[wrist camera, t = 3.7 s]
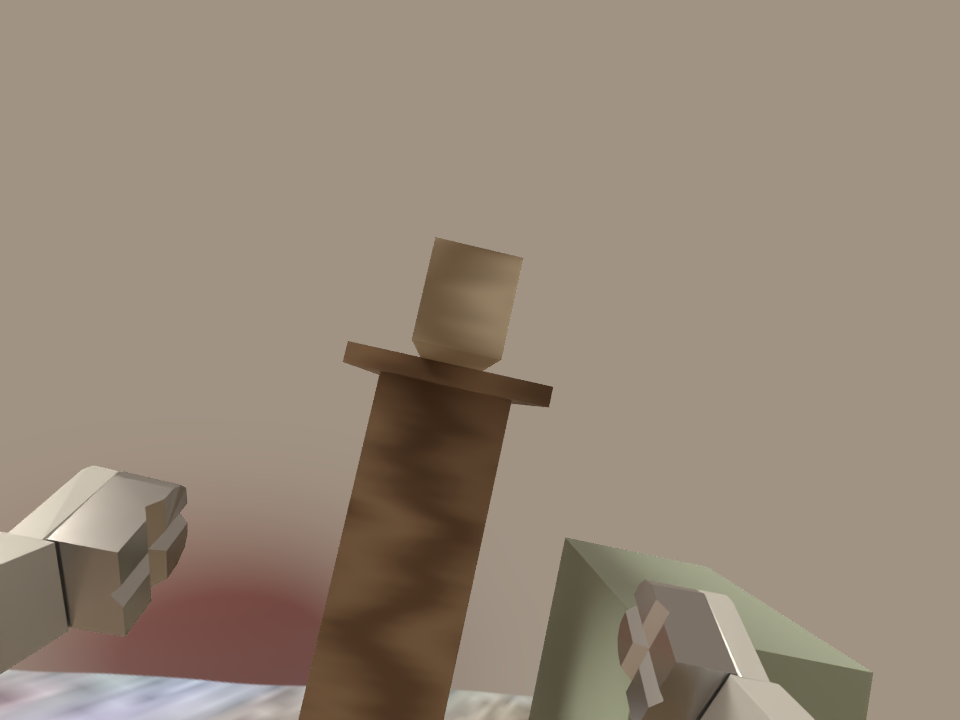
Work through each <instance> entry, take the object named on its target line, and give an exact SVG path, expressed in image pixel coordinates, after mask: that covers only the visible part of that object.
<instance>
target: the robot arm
mask: <svg viewBox="0 0 960 720" xmlns="http://www.w3.org/2000/svg"><path fill="white" fill-rule="evenodd" d="M186 504H187V494H186V488H185V487H183V486H182V485H179V484H175V483H170V482H166V481H161V480H157V479H153V478H149V477H144V476H140V475H136V474H131V473H127V472H120V471H115V470H111V469H107V468H102V467H98V466H91V467H88V468H85V469H83V470H81V471H80V472H79V473H78V474H77V475H75V476H74V477H73V478H72V479H71V480H69V481H68V482H67V483H66V484H65V485H64V486H62V487H61V488H60V489H59V490H58V491H57V492H55V493H54V494H53V495H52V496H51V497H50V498H48V499H47V500H46V501H45V502H44V503H43V504H41V505H40V506H39V507H38V508H37V509H35V510H34V511H33V512H32V513H31V514H30V515H28V516H27V517H26V518H25V519H24V520H23V521H21V522H20V523H19V524H18V525H17V526H16V527H14V528H13V529H12V530H11V531H10V532H9V533H6V532H0V674H1V673H3V672H5V671H6V670H8V669H9V668H11V667H12V666H14V665H16V664H17V663H19V662H20V661H22V660H24V659H25V658H27V657H28V656H30V655H32V654H33V653H35V652H36V651H38V650H39V649H41V648H42V647H44V646H46V645H47V644H49V643H51V642H52V641H54V640H55V639H57V638H58V637H60V636H62V635H63V634H65V633H66V632H68V628H73V629H79V630H85V631H92V632H98V633H104V634H111V635H117V636H124V637H126V635H127V634H128V632H129V631H130V630H131V628H132V627H133V625H134V624H135V623H136V621H137V620H138V619H139V617H140V616H141V614H142V613H143V612H144V610H145V609H146V608H147V606H148V605H149V603H150V602H151V587H152V586H154V585H155V584H158V583H160V582H162V581H164V580H165V579H167V578H168V577H169V575H170V574H171V572H172V571H173V569H174V568H175V566H176V565H177V563H178V561H179V559H180V556H181V554H182V552H183V550H184V547H185V543H186V538H187V522H186V521H185V519H184V518H183V517H182V515H181V514H180V512H181V510H182V509H183V508H184V507H185V505H186ZM634 595H635V599H636V603H637V605H635V606H634V607H632V608H630V609H628V610H626V611H625V614H624V616H623V618H622V620H621V623H620V626H619V633H618V639H617V641H618V655H619V661H620V666H621V668H622V669H623V670H624V672H625V673H626V674H627V675H628V677H629V678H630V679H631V680H632V681H631V683H630V685H629V687H628V689H627V691H626V695H627V700H628V705H629V709H630V714H631V719H632V720H815V719H814V718H813V717H812V716H811V715H810V714H809V713H808V712H807V711H806V710H805V709H804V708H803V707H802V706H801V705H800V704H799V703H798V702H797V701H796V700H794V699H793V698H792V697H791V696H790V695H789V694H788V693H787V692H786V691H785V690H784V689H783V688H782V687H781V686H780V685H779V684H776V683H771V682H770V681H769V678H768V676H767V674H766V672H765V670H764V668H763V666H762V663H761V661H760V659H759V657H758V655H757V653H756V650H755V648H754V646H753V644H752V642H751V640H750V638H749V635H748V633H747V631H746V629H745V627H744V625H743V623H742V620H741V618H740V616H739V614H738V612H737V610H736V608H735V605H734V603H733V601H732V600H731V599H730V598H729V597H728V596H727V595H723V594H718V593H713V592H708V591H702V590H696V589H691V588H686V587H681V586H676V585H671V584H666V583H661V582H655V581H650V580H644V581H642V582H641V583H640V584H639V586H638V588H637V589H636V591H635V593H634Z"/></svg>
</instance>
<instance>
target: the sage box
mask: <svg viewBox="0 0 960 720" xmlns="http://www.w3.org/2000/svg"><path fill="white" fill-rule="evenodd" d="M644 580H650V581H655V582H661V583H666V584H671V585H676V586H681V587H686V588H691V589H696V590H702V591H708V592H713V593H718V594H723V595H727V596H728V597H729V598H730V599H731V600H732V601H733V603H734V605H735V608H736V610H737V612H738V614H739V616H740V618H741V620H742V623H743V625H744V627H745V629H746V631H747V633H748V635H749V638H750V640H751V642H752V644H753V646H754V648H755V650H756V653H757V655H758V657H759V659H760V661H761V663H762V666H763V668H764V670H765V672H766V674H767V676H768V678H769V681H770V682H771V683H776V684H779V685H780V686H781V687H782V688H783V689H784V690H785V691H786V692H787V693H788V694H789V695H790V696H791V697H792V698H793V699H794V700H796V701H797V702H798V703H799V704H800V705H801V706H802V707H803V708H804V709H805V710H806V711H807V712H808V713H809V714H810V715H811V716H812V717H813V718H814V719H815V720H866V716H867V710H868V703H869V697H870V690H871V682H872V676H873V672H871V671H870V670H868V669H867V668H865V667H863V666H862V665H860V664H859V663H857V662H856V661H854V660H852V659H851V658H849V657H848V656H846V655H844V654H843V653H841V652H840V651H838V650H837V649H835V648H834V647H832V646H830V645H829V644H827V643H826V642H824V641H823V640H821V639H819V638H818V637H816V636H815V635H813V634H812V633H810V632H809V631H807V630H805V629H804V628H802V627H801V626H799V625H797V624H796V623H794V622H793V621H791V620H790V619H788V618H786V617H785V616H783V615H782V614H780V613H779V612H777V611H776V610H774V609H772V608H771V607H769V606H768V605H766V604H765V603H763V602H761V601H760V600H758V599H757V598H755V597H754V596H752V595H750V594H749V593H747V592H746V591H744V590H742V589H741V588H740V587H738V586H736V585H735V584H733V583H732V582H730V581H729V580H727V579H725V578H724V577H722V576H721V575H719V574H718V573H716V572H714V571H713V570H711V569H710V568H708V567H705V566H700V565H695V564H690V563H686V562H680V561H675V560H671V559H666V558H661V557H656V556H652V555H647V554H642V553H637V552H632V551H628V550H623V549H618V548H613V547H608V546H603V545H598V544H594V543H588V542H584V541H579V540H574V539H570V538H565V542H564V546H563V552H562V556H561V561H560V567H559V571H558V577H557V582H556V587H555V592H554V596H553V601H552V606H551V611H550V617H549V621H548V626H547V631H546V636H545V641H544V647H543V651H542V657H541V662H540V667H539V671H538V677H537V681H536V686H535V691H534V696H533V701H532V706H531V711H530V716H529V720H632V719H631V714H630V709H629V705H628V700H627V695H626V691H627V689H628V687H629V685H630V683H631V681H632V680H631V679H630V678H629V677H628V675H627V674H626V673H625V672H624V670H623V669H622V668H621V666H620V661H619V655H618V641H617V639H618V633H619V626H620V623H621V620H622V618H623V616H624V614H625V611H626V610H628V609H630V608H632V607H634V606H635V605H637V603H636V599H635V595H634V593H635V591H636V589H637V588H638V586H639V584H640V583H641V582H642V581H644Z"/></svg>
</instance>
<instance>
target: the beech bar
mask: <svg viewBox="0 0 960 720" xmlns="http://www.w3.org/2000/svg"><path fill="white" fill-rule="evenodd" d="M522 261H523V258H520V257H517V256H513V255H508V254H504V253H500V252H496V251H491V250H487V249H483V248H479V247H474V246H470V245H466V244H462V243H457V242H454V241H449V240H445V239H441V238H437V237H435V242H434V246H433V250H432V254H431V259H430V263H429V267H428V272H427V276H426V281H425V285H424V289H423V294H422V298H421V302H420V306H419V311H418V315H417V319H416V324H415V329H414V332H413V337H412V341H413V343H414V345H415V347H416V349H417V351H418V353H419V355H420V357H421V358H426V359H430V360H434V361H439V362H443V363H448V364H452V365H457V366H461V367H466V368H470V369H475V370H479V371H483V370H485V369H487V368H488V367H490V366H492V365H493V364H495V363H497V362H498V361H500V360H501V358H502V354H503V349H504V344H505V340H506V335H507V330H508V326H509V321H510V316H511V312H512V307H513V302H514V298H515V293H516V289H517V284H518V279H519V275H520V270H521V265H522Z"/></svg>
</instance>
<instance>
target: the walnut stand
mask: <svg viewBox="0 0 960 720" xmlns="http://www.w3.org/2000/svg"><path fill="white" fill-rule="evenodd" d="M343 362H345V363H348V364H350V365H353V366H356V367H359V368H362V369H364V370H367V371H370V372H373V373H376V374H379V379H378V383H377V388H376V392H375V397H374V400H373V405H372V409H371V413H370V417H369V422H368V426H367V430H366V435H365V439H364V443H363V447H362V452H361V456H360V460H359V465H358V469H357V473H356V477H355V482H354V486H353V490H352V494H351V499H350V503H349V507H348V511H347V515H346V520H345V524H344V528H343V532H342V537H341V541H340V546H339V550H338V554H337V558H336V562H335V567H334V571H333V575H332V579H331V584H330V588H329V593H328V596H327V601H326V605H325V609H324V614H323V618H322V622H321V626H320V631H319V635H318V639H317V643H316V648H315V652H314V656H313V661H312V665H311V669H310V674H309V678H308V682H307V686H306V690H305V694H304V699H303V703H302V707H301V711H300V716H299V720H444V715H445V711H446V706H447V701H448V697H449V692H450V687H451V683H452V678H453V673H454V668H455V664H456V659H457V654H458V650H459V645H460V640H461V635H462V631H463V626H464V622H465V617H466V612H467V607H468V603H469V598H470V593H471V589H472V584H473V579H474V574H475V569H476V565H477V561H478V556H479V551H480V546H481V542H482V537H483V532H484V527H485V523H486V518H487V513H488V509H489V504H490V499H491V495H492V490H493V485H494V481H495V476H496V471H497V467H498V462H499V457H500V452H501V448H502V443H503V438H504V434H505V429H506V424H507V420H508V415H509V410H510V405H511V404H521V405H531V406H541V407H549V404H550V399H551V394H552V390H553V387H551V386H547V385H542V384H538V383H533V382H528V381H524V380H520V379H515V378H510V377H506V376H501V375H497V374H493V373H488V372H483V371H479V370H475V369H470V368H466V367H461V366H457V365H452V364H448V363H443V362H439V361H434V360H430V359H426V358H421V357H417V356H412V355H407V354H403V353H399V352H394V351H390V350H385V349H381V348H376V347H372V346H367V345H362V344H358V343H353V342H349V341H348V343H347V347H346V352H345V355H344V360H343Z"/></svg>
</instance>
